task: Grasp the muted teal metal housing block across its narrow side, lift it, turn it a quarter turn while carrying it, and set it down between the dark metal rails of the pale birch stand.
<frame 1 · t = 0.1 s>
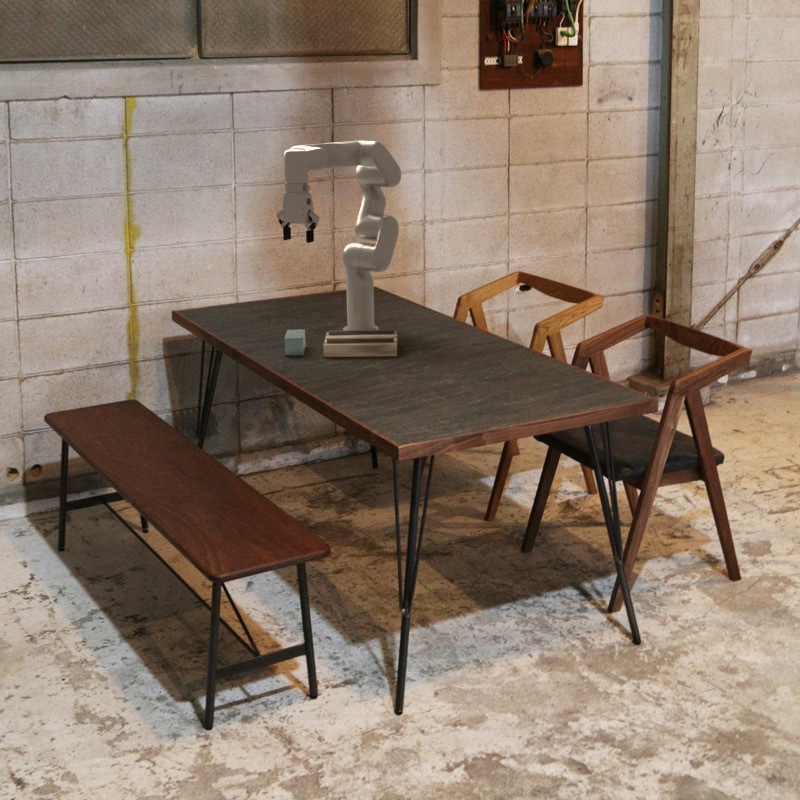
hand: (298, 241, 421), 37 cm above the table, fingers open, 9 cm apart
stand: (361, 349, 432), on the table
housing: (295, 351, 432), on the table
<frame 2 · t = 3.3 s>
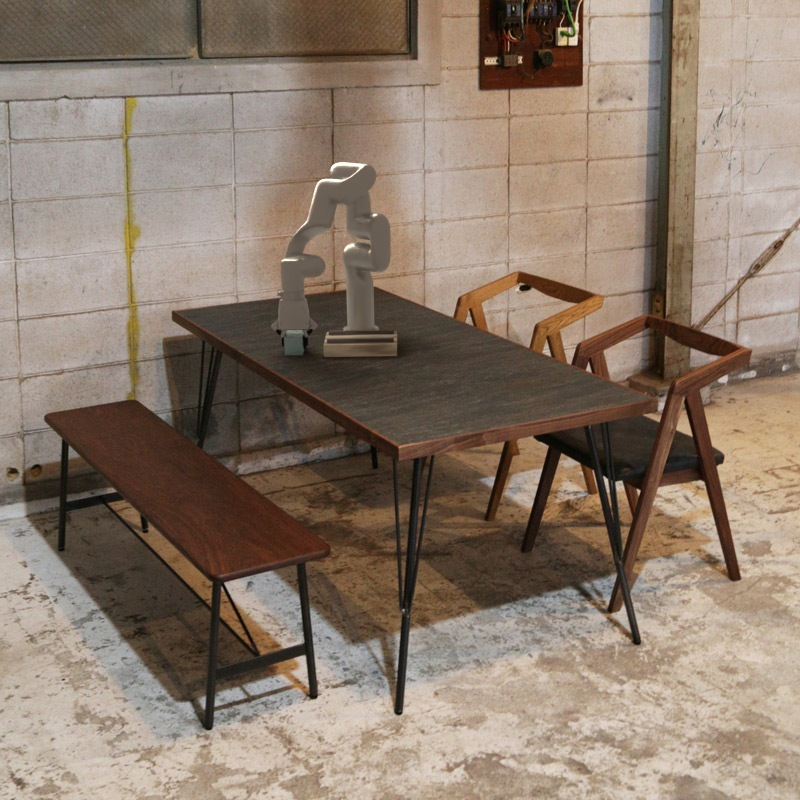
hand: (295, 347, 432), 1 cm above the table, fingers closed on housing, 6 cm apart
housing: (295, 350, 432), on the table, touching gripper
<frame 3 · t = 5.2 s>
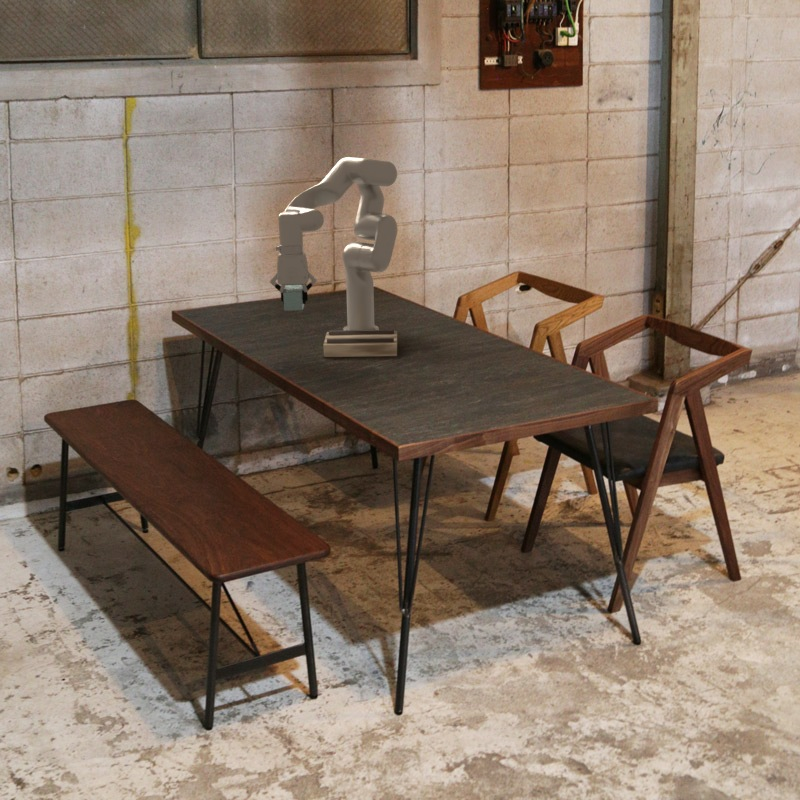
hand: (294, 302, 428), 16 cm above the table, fingers closed on housing, 6 cm apart
housing: (294, 306, 428), point 15 cm above the table, touching gripper
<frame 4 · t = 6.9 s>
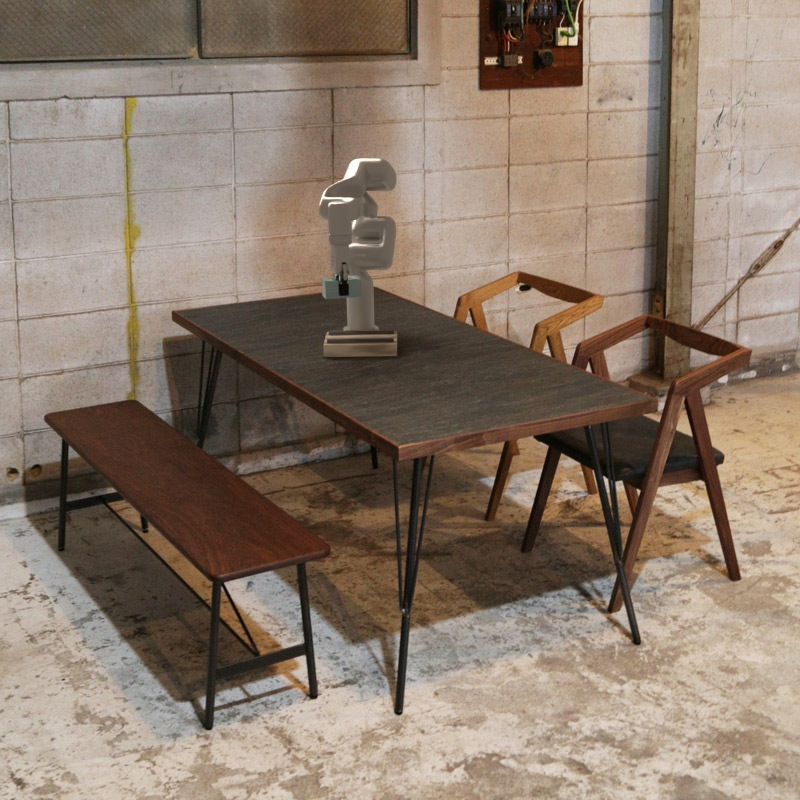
hand: (341, 293, 426), 19 cm above the table, fingers closed on housing, 6 cm apart
housing: (342, 296, 427), point 18 cm above the table, touching gripper
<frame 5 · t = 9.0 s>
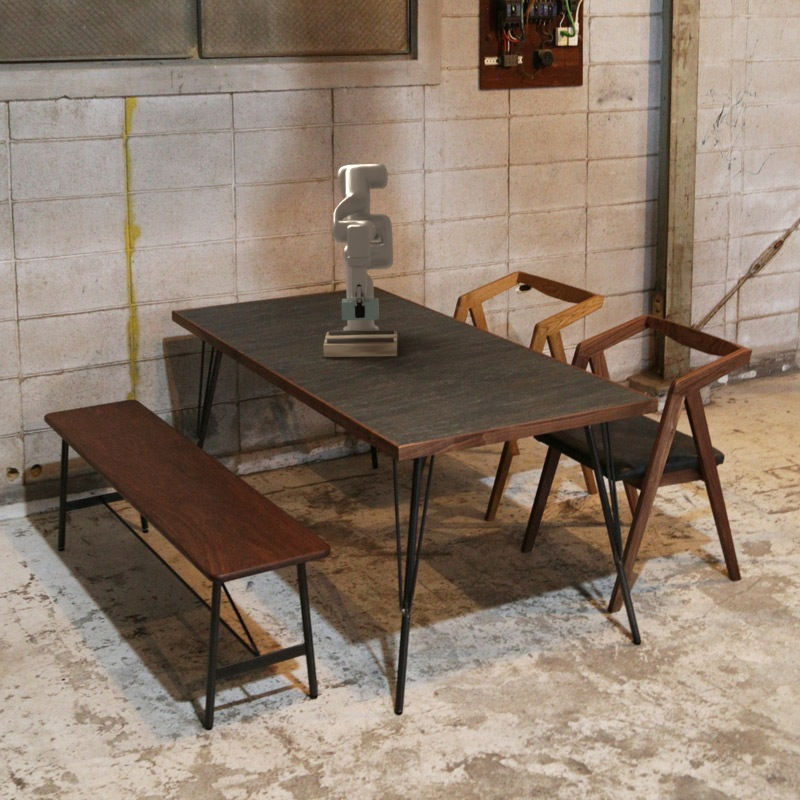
hand: (360, 315, 428), 12 cm above the table, fingers closed on housing, 6 cm apart
housing: (360, 318, 428), point 11 cm above the table, touching gripper
when the fingers open (6 cm above the table, at t = 10.6 s): housing stays where it is, resting on stand.
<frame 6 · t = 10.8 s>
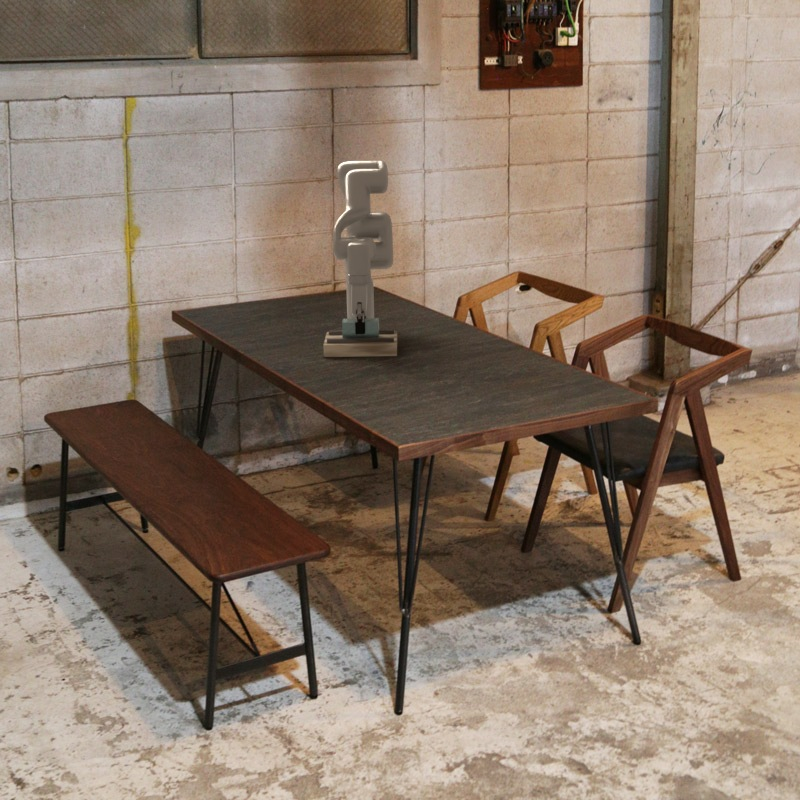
hand: (360, 330, 430), 7 cm above the table, fingers open, 8 cm apart
housing: (361, 337, 431), point 4 cm above the table, touching stand
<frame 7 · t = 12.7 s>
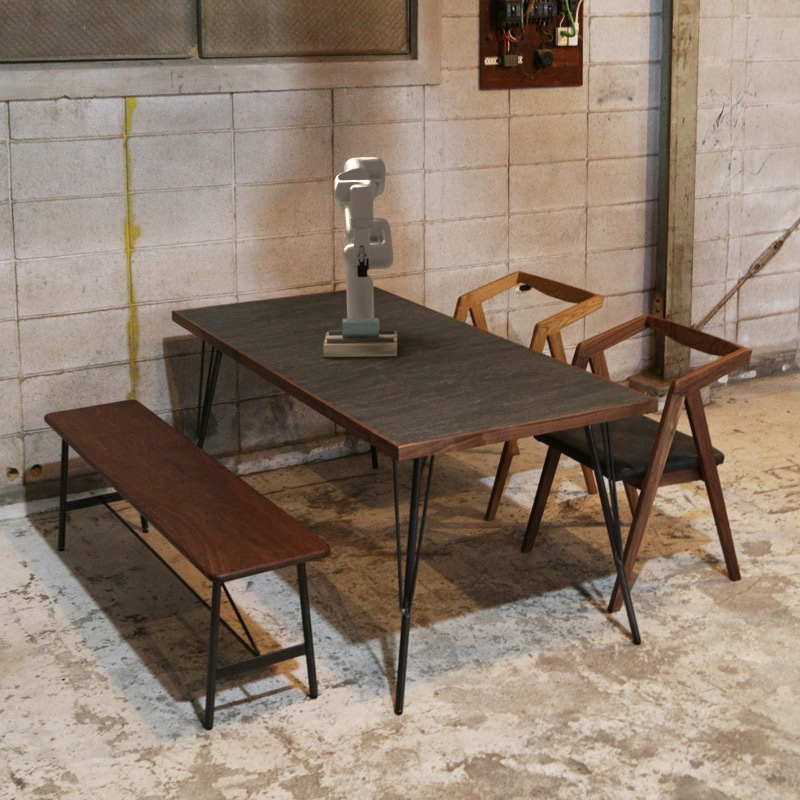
hand: (363, 273, 428), 25 cm above the table, fingers open, 9 cm apart
nothing on the table moved.
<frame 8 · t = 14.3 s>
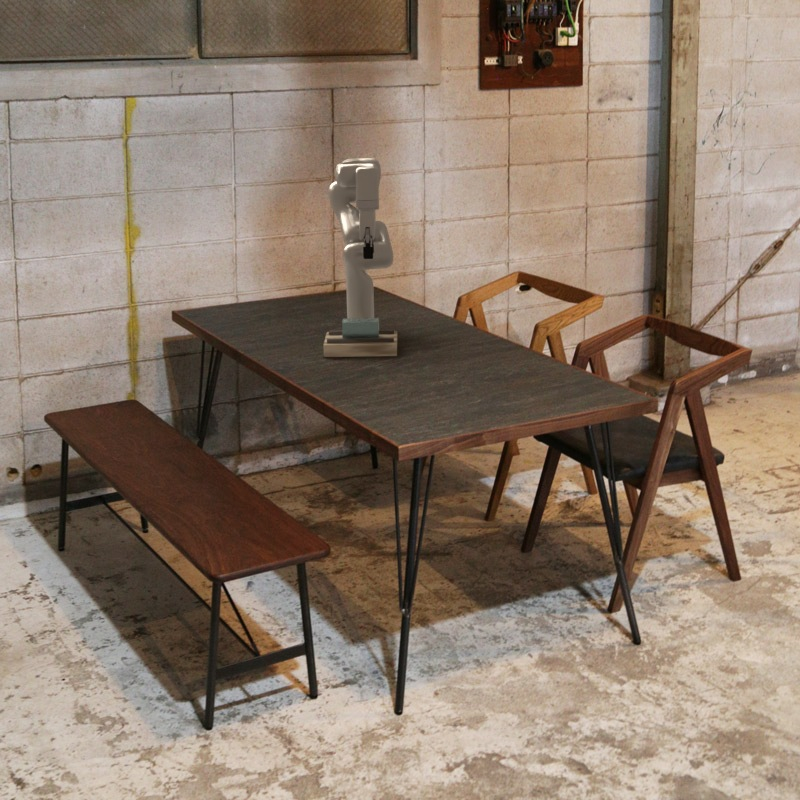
hand: (368, 256, 430), 30 cm above the table, fingers open, 9 cm apart
nothing on the table moved.
at the end: housing 0.1 cm off-centre on the stand, point 4.0 cm above the stand's base; housing tilted 0°; the gripper is holding nothing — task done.
